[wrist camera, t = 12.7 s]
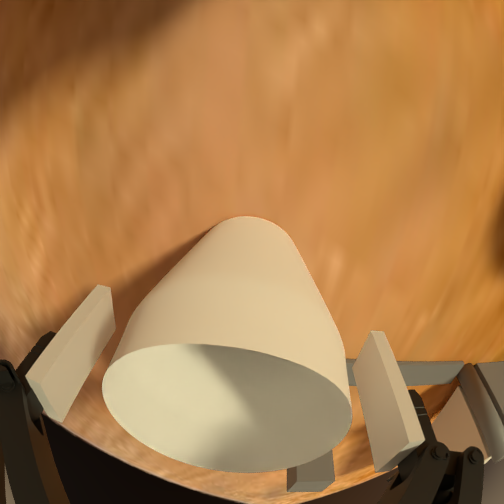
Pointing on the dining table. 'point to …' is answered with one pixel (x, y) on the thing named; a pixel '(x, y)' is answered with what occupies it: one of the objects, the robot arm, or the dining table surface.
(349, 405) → the cup
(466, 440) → the curved cream plank
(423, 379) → the grey u-shaped bar
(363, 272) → the dining table surface
